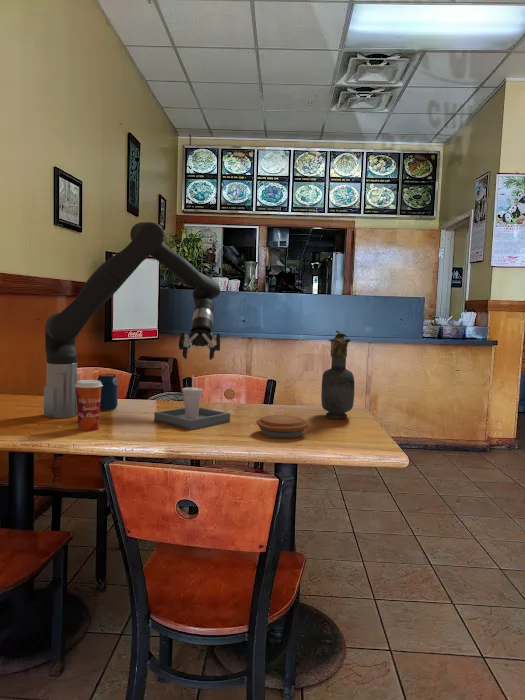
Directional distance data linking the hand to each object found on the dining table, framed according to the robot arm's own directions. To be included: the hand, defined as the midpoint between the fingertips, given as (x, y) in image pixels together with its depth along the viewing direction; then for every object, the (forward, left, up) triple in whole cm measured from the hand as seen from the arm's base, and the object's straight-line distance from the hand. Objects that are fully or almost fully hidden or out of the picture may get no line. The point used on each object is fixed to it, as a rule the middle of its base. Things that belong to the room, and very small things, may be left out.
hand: (197, 357), depth 177 cm
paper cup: (-38, +6, -20) cm, 43 cm away
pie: (-1, -37, -20) cm, 42 cm away
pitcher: (+35, -34, -20) cm, 52 cm away
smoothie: (-9, -7, -19) cm, 22 cm away
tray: (-9, -7, -19) cm, 23 cm away
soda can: (-17, +28, -20) cm, 38 cm away
